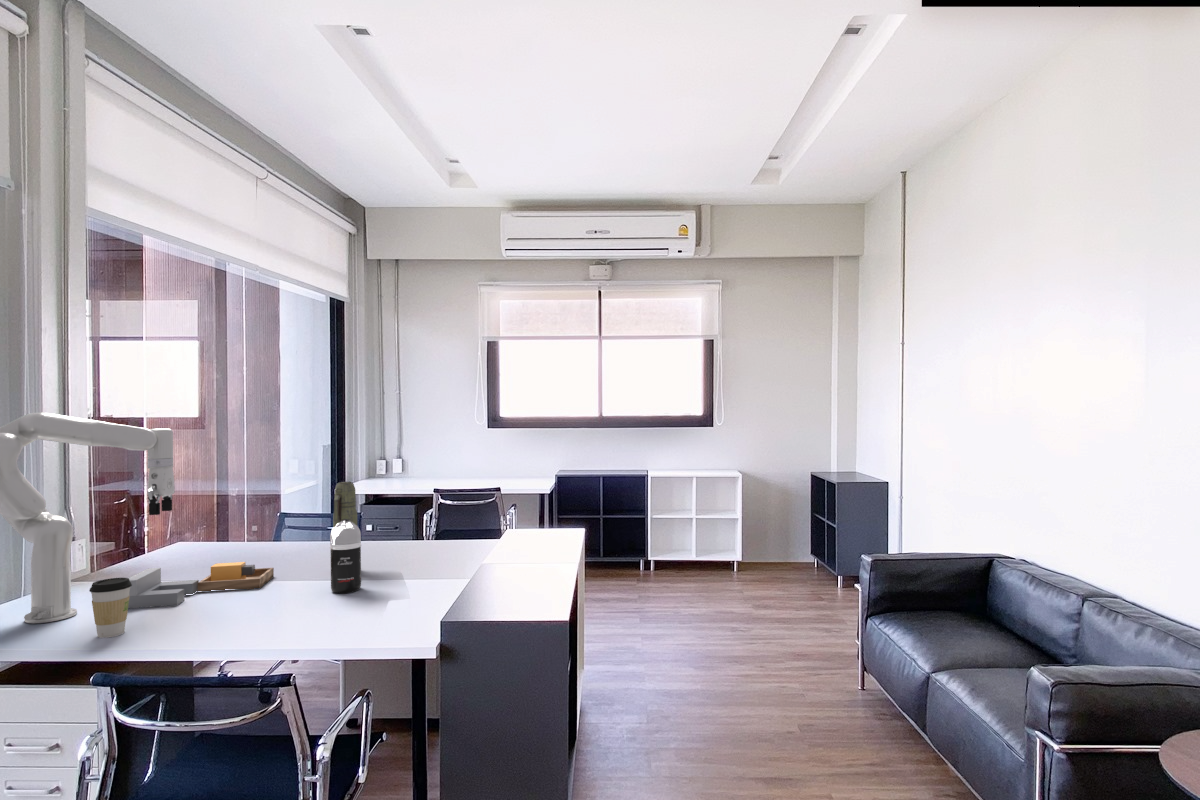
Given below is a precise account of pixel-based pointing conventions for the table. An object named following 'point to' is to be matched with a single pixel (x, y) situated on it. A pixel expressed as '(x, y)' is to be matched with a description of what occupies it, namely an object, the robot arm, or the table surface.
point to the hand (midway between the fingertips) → (160, 512)
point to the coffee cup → (110, 605)
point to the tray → (238, 581)
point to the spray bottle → (345, 557)
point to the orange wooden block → (231, 571)
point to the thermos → (344, 503)
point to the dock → (157, 589)
